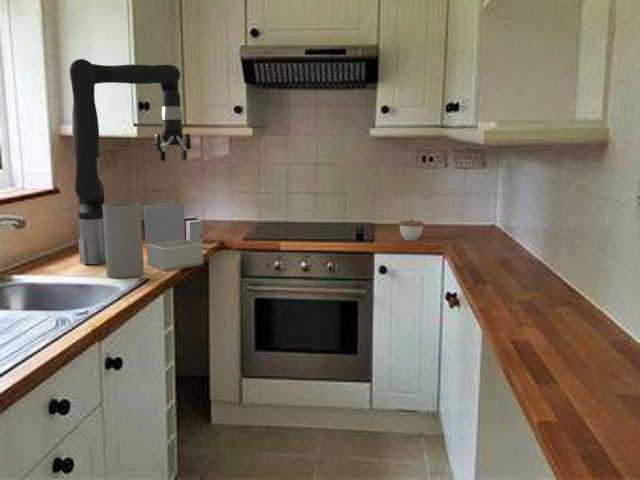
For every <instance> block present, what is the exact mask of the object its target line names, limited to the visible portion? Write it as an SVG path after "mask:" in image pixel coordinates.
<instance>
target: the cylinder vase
mask: <svg viewBox="0 0 640 480" xmlns="http://www.w3.org/2000/svg"><path fill="white" fill-rule="evenodd" d="M141 209H142V207H141V203H140V202H134V201H133V202H132V201H130V202H128V201H126V202H125V201H124V202H123V201H121V202H111V203H110V202H109V203H104V204H103V220H104V236H105V251H106V262H105V263H106V264H105V265H106V266H105V267H106V276H107V277H109V278H111V277H113V278H112V279H118V278H123V279H131V278H137V277H141V276H143V274H144V273H145V266H144V262H145V261H144V247H143V244H144V243H143V230H142V228H143V227H142V225H143V224H142V210H141Z"/></svg>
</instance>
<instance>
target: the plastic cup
mask: <svg viewBox="0 0 640 480" xmlns="http://www.w3.org/2000/svg"><path fill="white" fill-rule="evenodd" d="M192 220H198V216H184V226H185V239H186V221H192ZM182 240H183V239H182Z"/></svg>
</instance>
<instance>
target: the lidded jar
mask: <svg viewBox="0 0 640 480" xmlns="http://www.w3.org/2000/svg"><path fill="white" fill-rule="evenodd" d="M398 224H399V232H400V234H401V236H402V238H403V239H404V240H406V241H416V240H419V239H418V238H420V237H421V236H422V233H423V227H424V222H423V221H422V220H421V221H420V220H413V218H410V220H402V221H401V220H400V221H399V223H398Z"/></svg>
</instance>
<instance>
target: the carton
mask: <svg viewBox="0 0 640 480" xmlns="http://www.w3.org/2000/svg"><path fill="white" fill-rule="evenodd" d="M145 246H146V259H147V260H146V262H147V263H146V265H148V266H149V267H152V268H155V269H157V270H160V271H163V272H165V271H167V272H168V271H173V270H179V269H180V270H181V269H186V268H194V267H198V266H204V243H203V244H200V243H197V242H193V241H190V240H186V239H183V240H174V241H166V242H158V243H150V244H146V243H145Z"/></svg>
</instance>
